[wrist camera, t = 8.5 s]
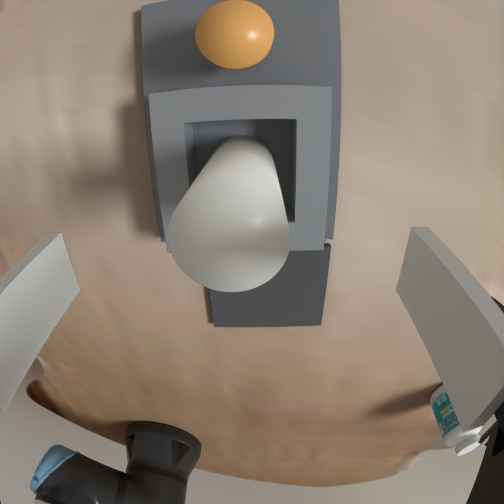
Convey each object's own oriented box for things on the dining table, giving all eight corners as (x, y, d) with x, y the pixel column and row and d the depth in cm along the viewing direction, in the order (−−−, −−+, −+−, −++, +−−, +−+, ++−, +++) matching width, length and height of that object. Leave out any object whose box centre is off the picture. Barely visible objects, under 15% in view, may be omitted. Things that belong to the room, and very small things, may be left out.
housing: (164, 236, 29) (152, 257, 26) (145, 8, 18) (127, -3, 15) (330, 234, 29) (340, 255, 25) (335, 0, 18) (348, -14, 15)
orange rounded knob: (204, 73, 19) (196, 70, 16) (202, 14, 16) (194, 3, 14) (272, 70, 19) (275, 66, 16) (271, 10, 16) (273, -2, 14)
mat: (214, 323, 34) (214, 326, 34) (205, 245, 30) (204, 248, 29) (319, 321, 34) (320, 325, 34) (329, 243, 29) (330, 246, 29)
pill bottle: (463, 370, 41) (491, 431, 29) (462, 389, 44) (486, 443, 32) (426, 390, 43) (450, 453, 31) (429, 406, 46) (449, 463, 34)
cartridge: (215, 193, 26) (177, 292, 14) (211, 136, 24) (160, 185, 11) (273, 192, 26) (288, 291, 14) (273, 134, 23) (292, 180, 11)
